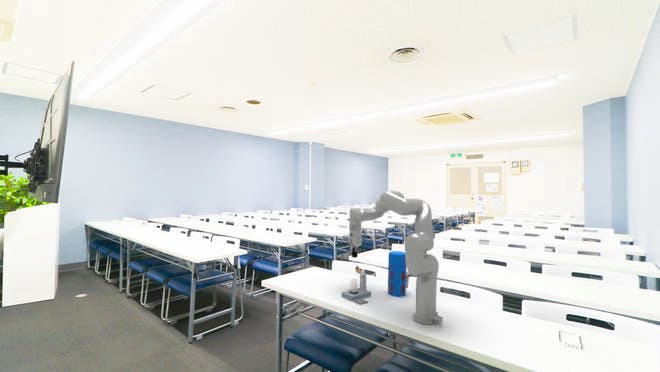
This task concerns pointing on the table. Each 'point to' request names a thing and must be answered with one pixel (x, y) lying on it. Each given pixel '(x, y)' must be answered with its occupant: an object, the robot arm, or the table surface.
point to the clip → (360, 271)
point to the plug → (353, 286)
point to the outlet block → (361, 291)
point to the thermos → (397, 274)
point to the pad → (360, 301)
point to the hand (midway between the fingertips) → (354, 257)
